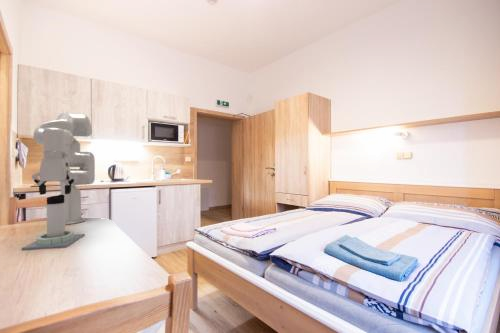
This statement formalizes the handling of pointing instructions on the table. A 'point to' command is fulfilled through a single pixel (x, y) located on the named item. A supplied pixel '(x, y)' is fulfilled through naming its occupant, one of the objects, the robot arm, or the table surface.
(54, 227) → the travel mug
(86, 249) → the table surface
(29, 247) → the cup dock
